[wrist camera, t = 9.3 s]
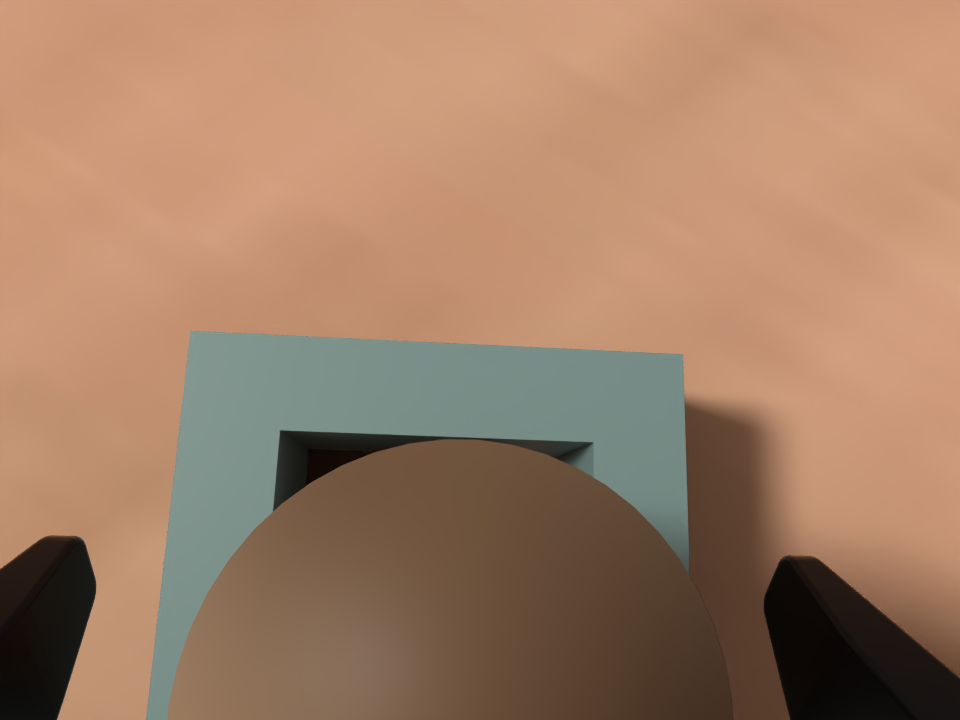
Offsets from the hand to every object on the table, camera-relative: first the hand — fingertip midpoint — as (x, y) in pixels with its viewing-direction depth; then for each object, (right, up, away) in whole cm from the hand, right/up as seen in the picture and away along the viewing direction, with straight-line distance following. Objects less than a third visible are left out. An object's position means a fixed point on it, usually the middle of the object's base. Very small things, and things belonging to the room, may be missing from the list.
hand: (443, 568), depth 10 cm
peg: (-1, -3, +8) cm, 9 cm away
